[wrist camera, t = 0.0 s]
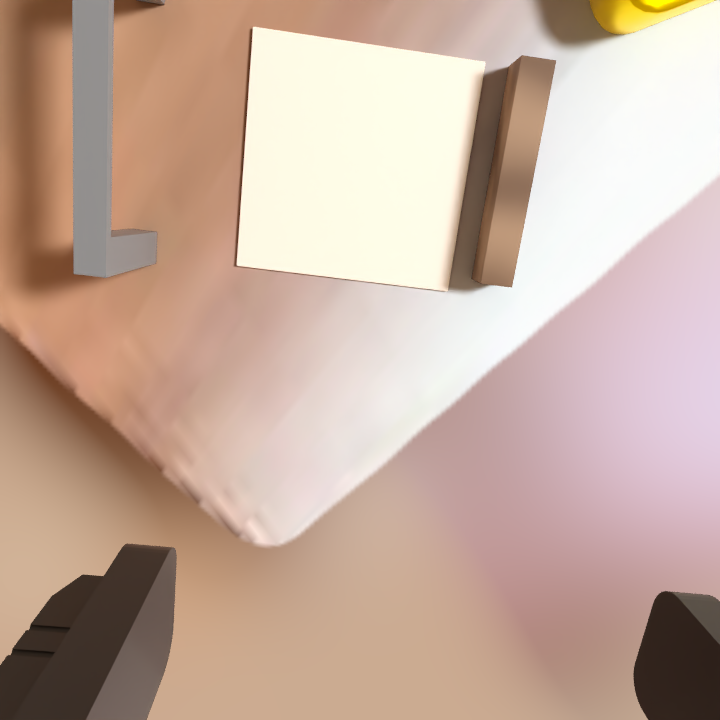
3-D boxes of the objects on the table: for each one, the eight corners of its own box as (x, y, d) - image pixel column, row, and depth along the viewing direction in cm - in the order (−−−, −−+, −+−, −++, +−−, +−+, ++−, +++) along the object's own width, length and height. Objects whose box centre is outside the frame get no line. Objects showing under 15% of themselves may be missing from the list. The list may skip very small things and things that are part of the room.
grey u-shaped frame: (137, -39, 32) (71, -121, 24) (165, -35, 32) (109, -115, 24) (130, 260, 36) (73, 273, 28) (156, 263, 36) (105, 277, 28)
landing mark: (253, 27, 33) (253, 26, 33) (484, 62, 34) (485, 61, 34) (237, 265, 36) (236, 265, 36) (447, 290, 37) (447, 291, 37)
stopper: (508, 66, 34) (521, 55, 32) (540, 71, 34) (556, 60, 32) (471, 278, 37) (480, 283, 35) (500, 282, 37) (511, 287, 35)
